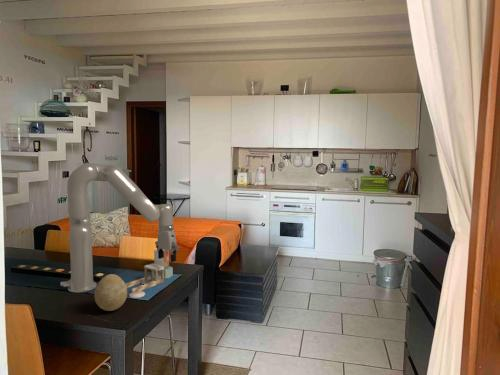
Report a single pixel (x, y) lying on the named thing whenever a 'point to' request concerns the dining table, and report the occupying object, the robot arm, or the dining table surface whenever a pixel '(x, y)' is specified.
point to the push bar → (149, 279)
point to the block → (167, 271)
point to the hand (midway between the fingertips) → (167, 259)
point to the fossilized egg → (110, 292)
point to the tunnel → (153, 268)
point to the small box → (162, 261)
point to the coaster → (137, 294)
